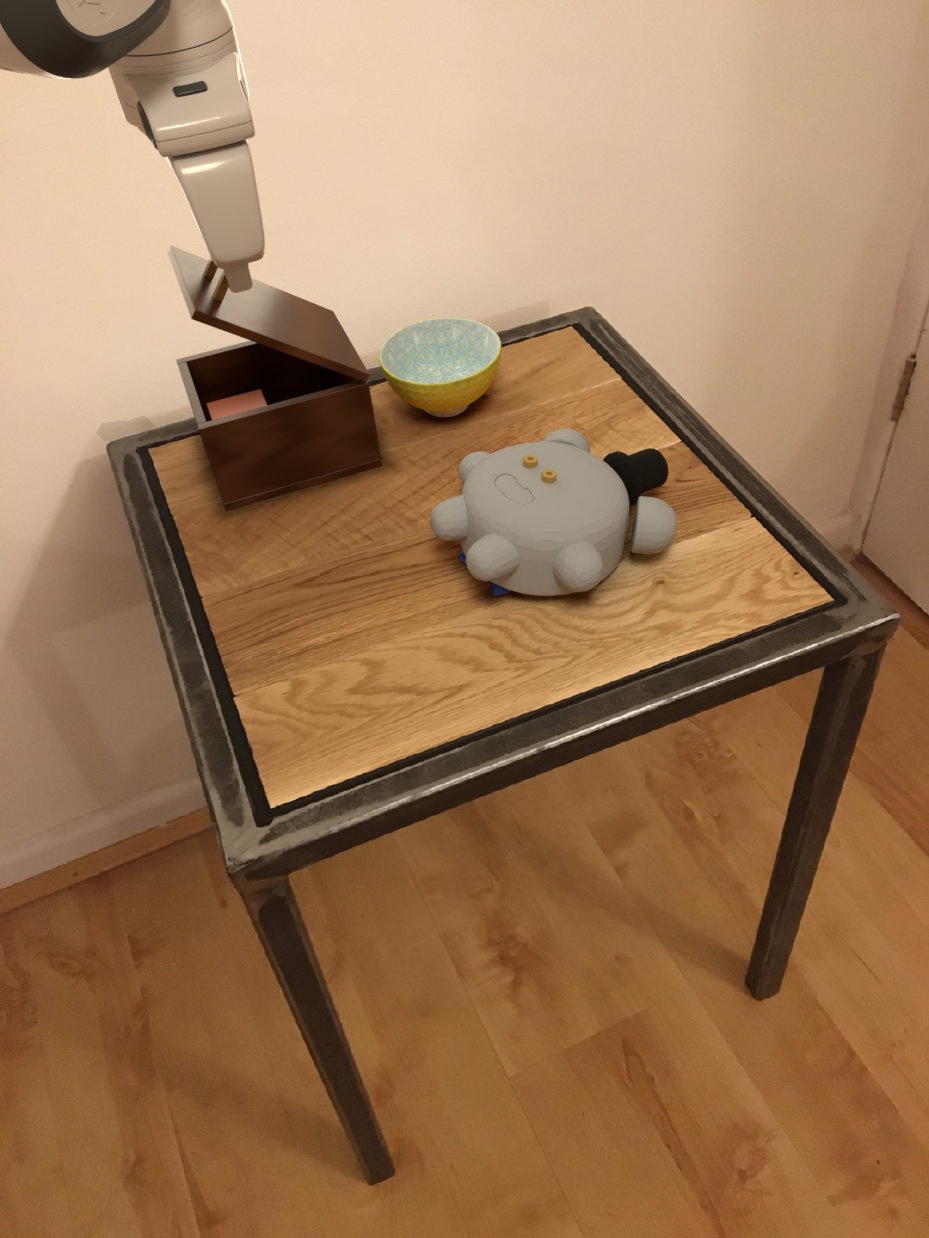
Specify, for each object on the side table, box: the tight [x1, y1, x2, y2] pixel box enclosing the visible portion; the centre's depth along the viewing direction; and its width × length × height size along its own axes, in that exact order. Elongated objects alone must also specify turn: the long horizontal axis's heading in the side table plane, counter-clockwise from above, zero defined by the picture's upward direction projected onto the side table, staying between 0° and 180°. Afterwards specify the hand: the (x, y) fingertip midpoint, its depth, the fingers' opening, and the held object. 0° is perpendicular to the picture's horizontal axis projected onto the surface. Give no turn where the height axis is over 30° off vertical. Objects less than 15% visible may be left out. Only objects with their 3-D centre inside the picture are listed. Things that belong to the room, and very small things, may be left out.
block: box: [207, 389, 267, 420], centre depth 87 cm, size 5×5×5 cm
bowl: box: [378, 316, 502, 418], centre depth 91 cm, size 11×12×6 cm
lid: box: [167, 245, 371, 382], centre depth 79 cm, size 15×12×6 cm
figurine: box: [429, 427, 678, 597], centre depth 76 cm, size 17×8×20 cm
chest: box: [175, 340, 383, 512], centre depth 86 cm, size 15×12×9 cm
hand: (232, 269), depth 76 cm, fingers closed on lid, 5 cm apart
